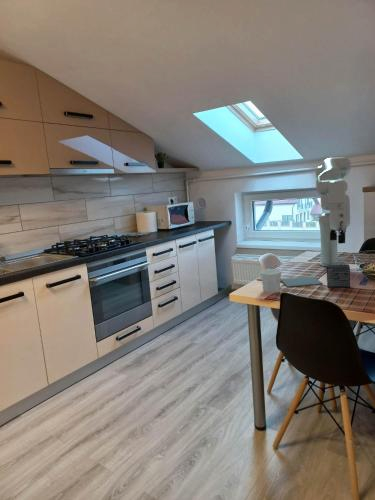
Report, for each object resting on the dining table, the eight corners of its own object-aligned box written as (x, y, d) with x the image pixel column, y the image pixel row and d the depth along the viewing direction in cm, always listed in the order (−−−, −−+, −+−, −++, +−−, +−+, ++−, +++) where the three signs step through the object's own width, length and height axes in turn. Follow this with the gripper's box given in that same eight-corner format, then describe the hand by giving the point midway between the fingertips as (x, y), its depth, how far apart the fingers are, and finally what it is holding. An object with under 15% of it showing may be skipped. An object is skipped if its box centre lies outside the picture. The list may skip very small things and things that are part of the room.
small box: (349, 284, 186) (349, 263, 184) (350, 288, 180) (350, 267, 178) (326, 284, 189) (326, 264, 187) (327, 287, 183) (326, 267, 181)
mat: (313, 277, 203) (313, 276, 203) (322, 284, 189) (322, 283, 189) (280, 280, 203) (280, 279, 203) (287, 287, 189) (287, 286, 189)
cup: (270, 295, 180) (269, 275, 178) (257, 290, 188) (256, 271, 187) (286, 290, 184) (285, 271, 182) (272, 286, 193) (271, 268, 191)
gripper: (352, 207, 169) (353, 243, 172) (337, 204, 186) (337, 238, 189) (336, 208, 169) (337, 245, 172) (322, 206, 186) (323, 239, 189)
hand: (337, 241), depth 180 cm, fingers open, 9 cm apart
